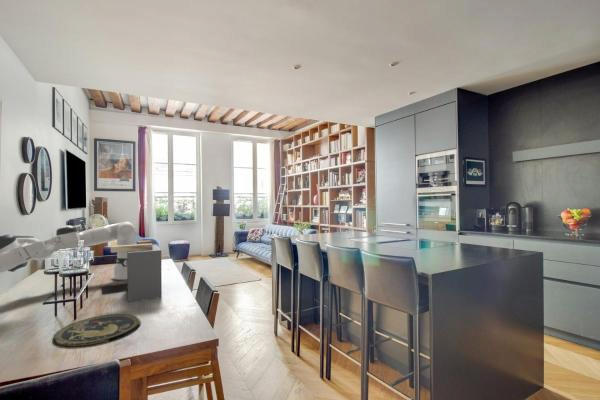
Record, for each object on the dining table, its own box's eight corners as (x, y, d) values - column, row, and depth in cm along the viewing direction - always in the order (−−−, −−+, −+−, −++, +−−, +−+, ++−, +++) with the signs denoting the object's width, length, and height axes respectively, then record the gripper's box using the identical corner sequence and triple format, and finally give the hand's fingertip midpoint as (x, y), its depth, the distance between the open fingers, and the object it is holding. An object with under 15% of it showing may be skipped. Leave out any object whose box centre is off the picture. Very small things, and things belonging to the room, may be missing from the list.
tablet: (148, 280, 209) (153, 286, 192) (148, 281, 209) (153, 287, 192) (100, 286, 193) (102, 294, 177) (100, 288, 193) (102, 295, 177)
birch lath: (110, 251, 167) (110, 246, 167) (151, 248, 177) (151, 243, 177) (110, 252, 164) (110, 247, 164) (152, 249, 174) (152, 244, 174)
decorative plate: (72, 317, 137) (146, 310, 146) (72, 322, 137) (146, 314, 146) (36, 348, 109) (131, 337, 117) (36, 354, 109) (131, 342, 117)
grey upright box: (127, 289, 187) (127, 246, 188) (156, 285, 195) (156, 244, 196) (128, 302, 163) (128, 252, 163) (161, 297, 171) (161, 250, 171)
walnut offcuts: (135, 248, 180) (135, 241, 180) (151, 246, 184) (151, 240, 184) (135, 249, 175) (135, 242, 175) (152, 248, 179) (152, 241, 179)
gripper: (36, 255, 162) (66, 241, 168) (24, 259, 144) (57, 244, 150) (29, 244, 161) (59, 231, 167) (16, 248, 143) (50, 233, 149)
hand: (58, 237), depth 158 cm, fingers open, 8 cm apart
